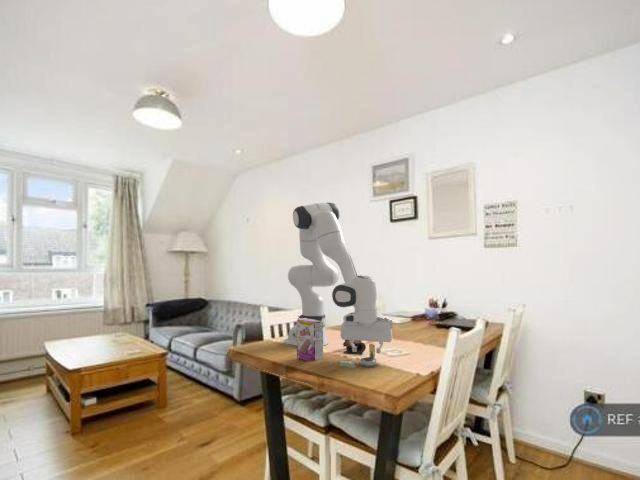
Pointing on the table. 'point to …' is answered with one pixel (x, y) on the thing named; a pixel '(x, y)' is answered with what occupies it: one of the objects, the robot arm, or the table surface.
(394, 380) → the table surface
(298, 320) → the candy bar box
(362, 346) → the pottery mug
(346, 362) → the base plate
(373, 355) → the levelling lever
